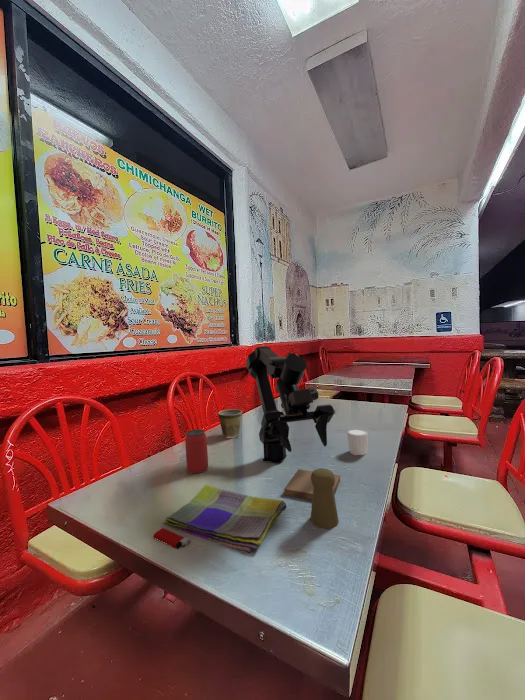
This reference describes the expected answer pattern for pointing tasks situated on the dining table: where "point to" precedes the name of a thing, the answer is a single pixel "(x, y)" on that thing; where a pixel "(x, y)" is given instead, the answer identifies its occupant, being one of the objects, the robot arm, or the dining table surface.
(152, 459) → the dining table surface
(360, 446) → the white cylinder
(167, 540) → the lighter
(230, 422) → the ceramic cup
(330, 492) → the olive brown peg figure
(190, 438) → the beer can
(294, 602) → the dining table surface
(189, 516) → the dish towel
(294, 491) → the walnut board
